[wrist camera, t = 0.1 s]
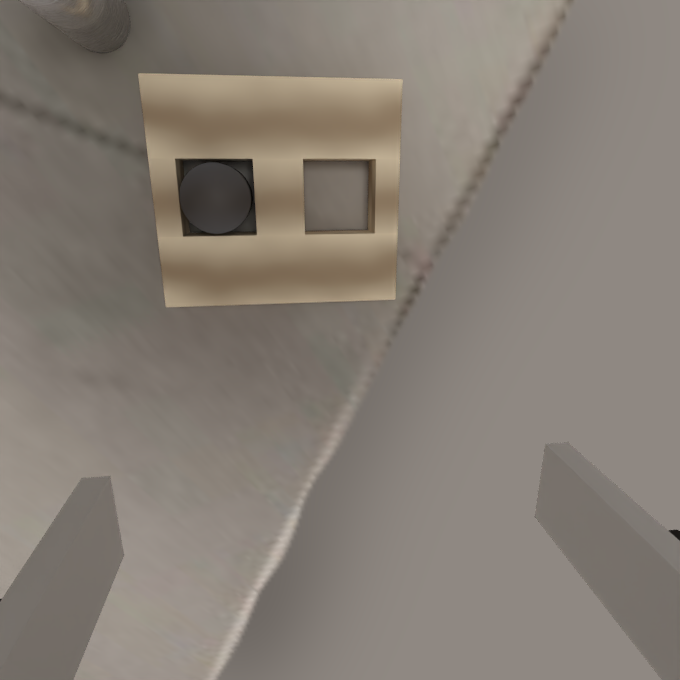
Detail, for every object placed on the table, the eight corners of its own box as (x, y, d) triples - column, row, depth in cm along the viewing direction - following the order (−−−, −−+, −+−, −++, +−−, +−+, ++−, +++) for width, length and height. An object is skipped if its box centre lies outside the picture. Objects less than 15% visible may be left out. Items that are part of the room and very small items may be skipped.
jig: (149, 82, 35) (132, 68, 31) (392, 87, 37) (407, 75, 33) (173, 298, 40) (161, 311, 35) (387, 291, 42) (399, 303, 38)
